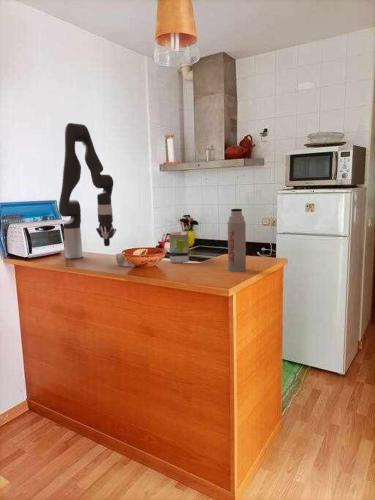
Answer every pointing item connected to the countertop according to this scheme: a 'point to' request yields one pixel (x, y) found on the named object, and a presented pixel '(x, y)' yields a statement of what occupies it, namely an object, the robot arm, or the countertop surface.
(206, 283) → the countertop surface
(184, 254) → the tea box
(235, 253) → the thermos bottle
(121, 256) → the birch block
